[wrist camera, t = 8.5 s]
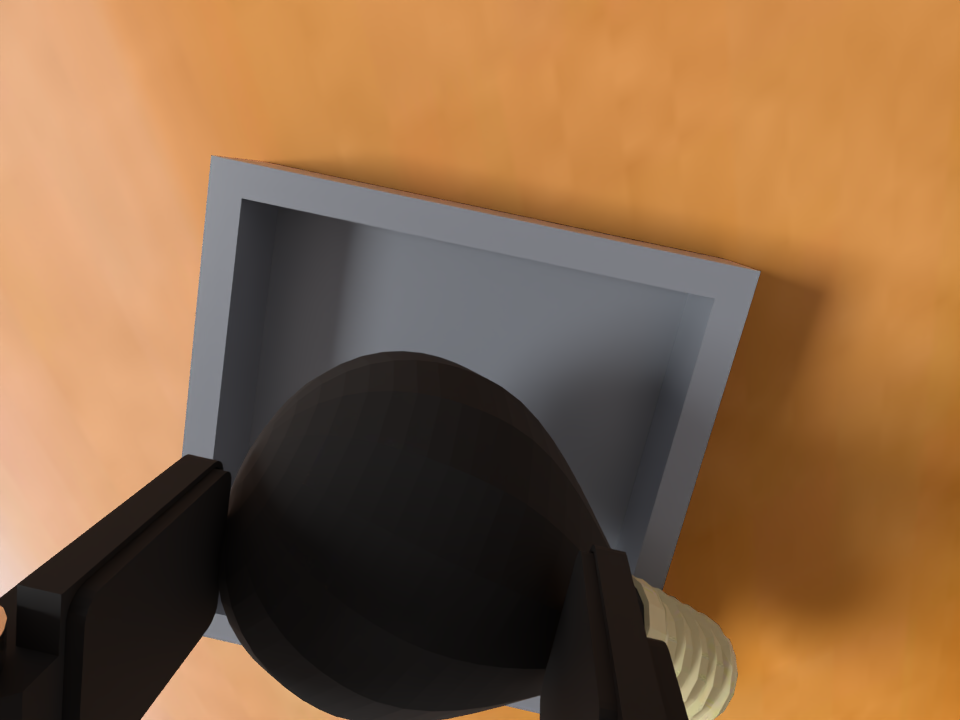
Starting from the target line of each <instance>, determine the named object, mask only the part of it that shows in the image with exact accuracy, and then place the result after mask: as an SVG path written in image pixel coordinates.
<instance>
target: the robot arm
mask: <svg viewBox="0 0 960 720" xmlns="http://www.w3.org/2000/svg"><path fill="white" fill-rule="evenodd" d="M231 480H232V477H231V473H230V472H228V471H224V470H223V464H222V462H221V461H217V460H213V459H208V458H204V457H199V456H195V455H190V454H187V455H185V456H184V457H182V458H181V459H180V460H178V461H177V462H176V463H174V464H173V465H172V466H171V467H169V468H168V469H167V470H165V471H164V472H163V473H161V474H160V475H159V476H158V477H156V478H155V479H154V480H152V481H151V482H150V483H148V484H147V485H146V486H145V487H143V488H142V489H141V490H139V491H138V492H137V493H135V494H134V495H133V496H132V497H130V498H129V499H128V500H126V501H125V502H124V503H122V504H121V505H120V506H118V507H117V508H116V509H115V510H113V511H112V512H111V513H109V514H108V515H107V516H105V517H104V518H103V519H102V520H100V521H99V522H98V523H96V524H95V525H94V526H92V527H91V528H90V529H89V530H87V531H86V532H85V533H83V534H82V535H81V536H79V537H78V538H77V539H76V540H74V541H73V542H72V543H70V544H69V545H68V546H66V547H65V548H64V549H63V550H61V551H60V552H59V553H57V554H56V555H55V556H53V557H52V558H51V559H50V560H48V561H47V562H46V563H44V564H43V565H42V566H40V567H39V568H38V569H37V570H35V571H34V572H33V573H31V574H30V575H29V576H27V577H26V578H25V579H24V580H22V581H21V582H20V583H18V584H17V585H16V586H15V587H14V588H12V589H11V590H10V591H8V592H7V593H6V594H4V595H3V596H2V597H1V598H0V720H141V718H142V717H143V716H144V714H145V713H146V712H147V710H148V709H149V707H150V706H151V705H152V703H153V702H154V701H155V699H156V698H157V697H158V695H159V694H160V693H161V691H162V690H163V689H164V687H165V686H166V685H167V683H168V682H169V680H170V679H171V678H172V676H173V675H174V674H175V672H176V671H177V670H178V668H179V667H180V666H181V664H182V663H183V662H184V660H185V659H186V658H187V656H188V655H189V653H190V652H191V651H192V649H193V648H194V647H195V645H196V644H197V643H198V641H199V640H200V639H201V637H202V636H203V635H204V633H205V632H206V631H207V629H208V628H209V626H210V625H211V623H212V620H213V618H214V616H215V613H216V609H217V604H218V596H219V586H218V570H219V560H220V550H221V545H222V540H223V536H224V531H225V526H226V521H227V516H228V508H229V499H230V490H231ZM540 720H689V719H688V715H687V712H686V708H685V705H684V701H683V698H682V694H681V691H680V687H679V684H678V680H677V677H676V673H675V670H674V666H673V662H672V659H671V655H670V652H669V649H668V647H667V644H666V643H665V642H664V641H662V640H658V639H653V638H649V637H647V636H646V632H645V628H644V624H643V620H642V616H641V612H640V607H639V603H638V599H637V595H636V591H635V587H634V583H633V579H632V574H631V570H630V566H629V562H628V558H627V554H626V552H624V551H620V550H615V549H611V548H606V547H602V546H597V545H592V546H591V549H590V551H589V552H585V551H581V550H580V551H579V552H578V554H577V557H576V560H575V564H574V568H573V571H572V575H571V579H570V582H569V586H568V590H567V593H566V597H565V601H564V605H563V608H562V612H561V616H560V619H559V623H558V627H557V630H556V634H555V638H554V642H553V645H552V649H551V653H550V656H549V660H548V664H547V667H546V671H545V675H544V679H543V683H542V688H541V695H540Z"/></svg>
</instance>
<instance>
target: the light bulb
mask: <svg viewBox="0 0 960 720" xmlns="http://www.w3.org/2000/svg"><path fill="white" fill-rule="evenodd" d="M592 545H597V546H602V547H606V548H611V547H610V545H609V543H608V541H607V539H606V537H605V535H604V533H603V531H602V529H601V527H600V525H599V523H598V521H597V519H596V517H595V515H594V513H593V510H592V508H591V506H590V504H589V502H588V501H587V499H586V497H585V495H584V493H583V491H582V489H581V487H580V485H579V483H578V481H577V479H576V478H575V476H574V474H573V472H572V470H571V468H570V467H569V465H568V463H567V461H566V460H565V458H564V457H563V455H562V453H561V452H560V450H559V448H558V447H557V445H556V444H555V442H554V441H553V439H552V438H551V436H550V435H549V434H548V432H547V431H546V430H545V428H544V427H543V426H542V424H541V423H540V422H539V420H538V419H537V418H536V417H535V416H534V415H533V414H532V413H531V412H530V411H529V409H528V408H527V407H526V406H525V405H524V404H523V403H522V402H521V401H520V400H518V399H517V398H516V397H515V396H513V395H512V394H511V393H509V392H508V391H507V390H506V389H504V388H503V387H501V386H500V385H498V384H496V383H494V382H493V381H491V380H489V379H487V378H485V377H483V376H481V375H479V374H478V373H476V372H474V371H472V370H470V369H468V368H466V367H464V366H461V365H459V364H457V363H455V362H452V361H450V360H447V359H444V358H441V357H438V356H433V355H429V354H425V353H419V352H408V351H390V352H379V353H374V354H369V355H364V356H360V357H358V358H355V359H352V360H350V361H347V362H345V363H342V364H339V365H338V366H336V367H334V368H332V369H330V370H328V371H327V372H325V373H323V374H321V375H320V376H318V377H316V378H315V379H313V380H311V381H310V382H308V383H307V384H305V385H304V386H303V387H302V388H301V389H300V390H299V391H297V392H296V393H295V394H294V395H293V396H292V397H291V398H289V399H288V400H287V401H286V403H285V404H284V405H283V406H282V407H281V408H280V409H279V410H278V411H277V412H276V414H275V415H274V416H273V418H272V419H271V420H270V421H269V423H268V424H267V425H266V427H265V428H264V429H263V430H262V432H261V433H260V435H259V436H258V437H257V439H256V440H255V442H254V444H253V445H252V447H251V448H250V450H249V452H248V454H247V455H246V457H245V459H244V461H243V463H242V465H241V467H240V469H239V471H238V473H237V476H236V478H235V481H234V483H233V485H232V488H231V490H230V499H229V508H228V516H227V521H226V526H225V531H224V536H223V540H222V545H221V550H220V560H219V570H218V586H219V592H220V598H221V603H222V606H223V608H224V611H225V614H226V617H227V619H228V622H229V624H230V626H231V628H232V630H233V631H234V633H235V635H236V637H237V638H238V640H239V642H240V643H241V644H242V646H243V647H244V648H245V649H246V651H247V652H248V653H249V654H250V656H251V657H252V658H253V659H254V660H255V661H256V662H257V663H258V664H259V665H260V666H261V667H262V668H264V669H265V670H266V671H267V672H268V673H269V674H270V675H271V676H272V677H274V678H275V679H276V680H277V681H278V682H279V683H281V684H282V685H283V686H284V687H285V688H286V689H288V690H289V691H291V692H292V693H293V694H295V695H296V696H298V697H299V698H300V699H302V700H303V701H305V702H307V703H309V704H310V705H312V706H314V707H316V708H318V709H319V710H322V711H324V712H327V713H329V714H331V715H334V716H336V717H341V718H345V719H349V720H443V719H449V718H454V717H459V716H463V715H468V714H473V713H477V712H481V711H485V710H489V709H493V708H497V707H501V706H504V705H508V704H512V703H515V702H519V701H523V700H526V699H530V698H533V697H537V696H540V695H541V688H542V683H543V679H544V675H545V671H546V667H547V664H548V660H549V656H550V653H551V649H552V645H553V642H554V638H555V634H556V630H557V627H558V623H559V619H560V616H561V612H562V608H563V605H564V601H565V597H566V593H567V590H568V586H569V582H570V579H571V575H572V571H573V568H574V564H575V560H576V557H577V554H578V552H579V551H580V550H581V551H585V552H589V551H590V549H591V546H592ZM632 579H633V583H634V587H635V591H636V595H637V599H638V603H639V607H640V612H641V616H642V620H643V624H644V628H645V632H646V636H647V637H649V638H653V639H658V640H662V641H664V642H665V643H666V644H667V647H668V649H669V652H670V655H671V659H672V662H673V666H674V670H675V673H676V677H677V680H678V684H679V687H680V691H681V694H682V698H683V701H684V705H685V708H686V712H687V715H688V719H689V720H714V719H715V718H716V717H717V716H719V715H720V714H721V713H723V712H724V710H725V709H726V707H727V705H728V704H729V702H730V700H731V698H732V697H733V695H734V691H735V686H736V681H737V676H738V672H737V664H736V656H735V653H734V650H733V647H732V645H731V642H730V639H728V638H727V637H726V636H725V635H724V634H723V632H722V630H721V628H720V627H719V625H718V624H717V623H715V622H714V621H713V620H711V619H710V618H709V617H708V616H706V615H705V614H704V613H700V612H697V611H696V610H694V609H693V608H692V607H690V606H689V605H687V604H682V603H681V602H680V601H679V600H677V599H676V598H675V597H673V596H668V595H667V594H665V593H664V592H663V591H662V590H660V589H659V588H654V587H652V586H651V585H649V584H648V583H647V582H645V581H644V580H643V579H640V578H636V577H635V576H633V575H632Z"/></svg>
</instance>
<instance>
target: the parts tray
mask: <svg viewBox="0 0 960 720" xmlns="http://www.w3.org/2000/svg"><path fill="white" fill-rule="evenodd" d="M760 272H761V271H758V270H755V269H752V268H750V267H747V266H744V265H741V264H738V263H735V262H732V261H729V260H726V259H723V258H718V257H714V256H709V255H704V254H699V253H695V252H690V251H685V250H680V249H676V248H671V247H666V246H661V245H657V244H652V243H647V242H643V241H638V240H633V239H628V238H624V237H619V236H614V235H609V234H605V233H600V232H595V231H590V230H586V229H581V228H576V227H571V226H567V225H562V224H557V223H552V222H548V221H543V220H538V219H534V218H529V217H524V216H519V215H515V214H510V213H505V212H500V211H496V210H491V209H486V208H481V207H477V206H472V205H467V204H462V203H458V202H453V201H448V200H443V199H439V198H434V197H429V196H425V195H420V194H415V193H410V192H406V191H401V190H396V189H391V188H387V187H382V186H377V185H372V184H368V183H363V182H358V181H353V180H349V179H344V178H339V177H335V176H330V175H325V174H320V173H316V172H311V171H306V170H301V169H297V168H292V167H287V166H282V165H278V164H273V163H268V162H263V161H255V160H247V159H238V158H230V157H221V156H213V155H211V164H210V174H209V184H208V195H207V205H206V215H205V225H204V236H203V246H202V256H201V267H200V277H199V287H198V297H197V308H196V318H195V328H194V338H193V349H192V359H191V369H190V380H189V390H188V400H187V410H186V421H185V431H184V441H183V451H182V457H184V456H185V455H187V454H190V455H195V456H199V457H204V458H208V459H213V460H217V461H221V462H222V464H223V470H224V471H228V472H230V473H231V477H232V480H231V488H232V485H233V483H234V481H235V478H236V476H237V473H238V471H239V469H240V467H241V465H242V463H243V461H244V459H245V457H246V455H247V454H248V452H249V450H250V448H251V447H252V445H253V444H254V442H255V440H256V439H257V437H258V436H259V435H260V433H261V432H262V430H263V429H264V428H265V427H266V425H267V424H268V423H269V421H270V420H271V419H272V418H273V416H274V415H275V414H276V412H277V411H278V410H279V409H280V408H281V407H282V406H283V405H284V404H285V403H286V401H287V400H288V399H289V398H291V397H292V396H293V395H294V394H295V393H296V392H297V391H299V390H300V389H301V388H302V387H303V386H304V385H305V384H307V383H308V382H310V381H311V380H313V379H315V378H316V377H318V376H320V375H321V374H323V373H325V372H327V371H328V370H330V369H332V368H334V367H336V366H338V365H339V364H342V363H345V362H347V361H350V360H352V359H355V358H358V357H360V356H364V355H369V354H374V353H379V352H390V351H408V352H419V353H425V354H429V355H433V356H438V357H441V358H444V359H447V360H450V361H452V362H455V363H457V364H459V365H461V366H464V367H466V368H468V369H470V370H472V371H474V372H476V373H478V374H479V375H481V376H483V377H485V378H487V379H489V380H491V381H493V382H494V383H496V384H498V385H500V386H501V387H503V388H504V389H506V390H507V391H508V392H509V393H511V394H512V395H513V396H515V397H516V398H517V399H518V400H520V401H521V402H522V403H523V404H524V405H525V406H526V407H527V408H528V409H529V411H530V412H531V413H532V414H533V415H534V416H535V417H536V418H537V419H538V420H539V422H540V423H541V424H542V426H543V427H544V428H545V430H546V431H547V432H548V434H549V435H550V436H551V438H552V439H553V441H554V442H555V444H556V445H557V447H558V448H559V450H560V452H561V453H562V455H563V457H564V458H565V460H566V461H567V463H568V465H569V467H570V468H571V470H572V472H573V474H574V476H575V478H576V479H577V481H578V483H579V485H580V487H581V489H582V491H583V493H584V495H585V497H586V499H587V501H588V502H589V504H590V506H591V508H592V510H593V513H594V515H595V517H596V519H597V521H598V523H599V525H600V527H601V529H602V531H603V533H604V535H605V537H606V539H607V541H608V543H609V545H610V547H611V549H615V550H620V551H624V552H626V554H627V558H628V562H629V566H630V570H631V574H632V575H633V576H635V577H636V578H640V579H643V580H644V581H645V582H647V583H648V584H649V585H651V586H652V587H654V588H659V589H660V590H662V589H663V586H664V583H665V580H666V576H667V573H668V570H669V567H670V563H671V560H672V557H673V554H674V551H675V547H676V544H677V541H678V538H679V534H680V531H681V528H682V525H683V521H684V518H685V515H686V512H687V508H688V505H689V502H690V499H691V496H692V492H693V489H694V486H695V483H696V479H697V476H698V473H699V470H700V466H701V463H702V460H703V457H704V453H705V450H706V447H707V444H708V441H709V437H710V434H711V431H712V428H713V424H714V421H715V418H716V415H717V411H718V408H719V405H720V402H721V398H722V395H723V392H724V389H725V386H726V382H727V379H728V376H729V373H730V369H731V366H732V363H733V360H734V356H735V353H736V350H737V347H738V343H739V340H740V337H741V334H742V331H743V327H744V324H745V321H746V318H747V314H748V311H749V308H750V305H751V301H752V298H753V295H754V292H755V288H756V285H757V282H758V279H759V276H760ZM203 636H204V637H209V638H213V639H217V640H222V641H226V642H231V643H235V644H239V645H242V644H241V643H240V642H239V640H238V638H237V637H236V635H235V633H234V631H233V630H232V628H231V626H230V624H229V622H228V619H227V617H226V614H225V611H224V608H223V606H222V603H221V598H220V592H219V596H218V604H217V609H216V613H215V616H214V618H213V620H212V623H211V625H210V626H209V628H208V629H207V631H206V632H205V633H204V635H203ZM505 706H509V707H514V708H518V709H522V710H527V711H531V712H535V713H540V696H537V697H533V698H530V699H526V700H523V701H519V702H515V703H512V704H508V705H505Z"/></svg>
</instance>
